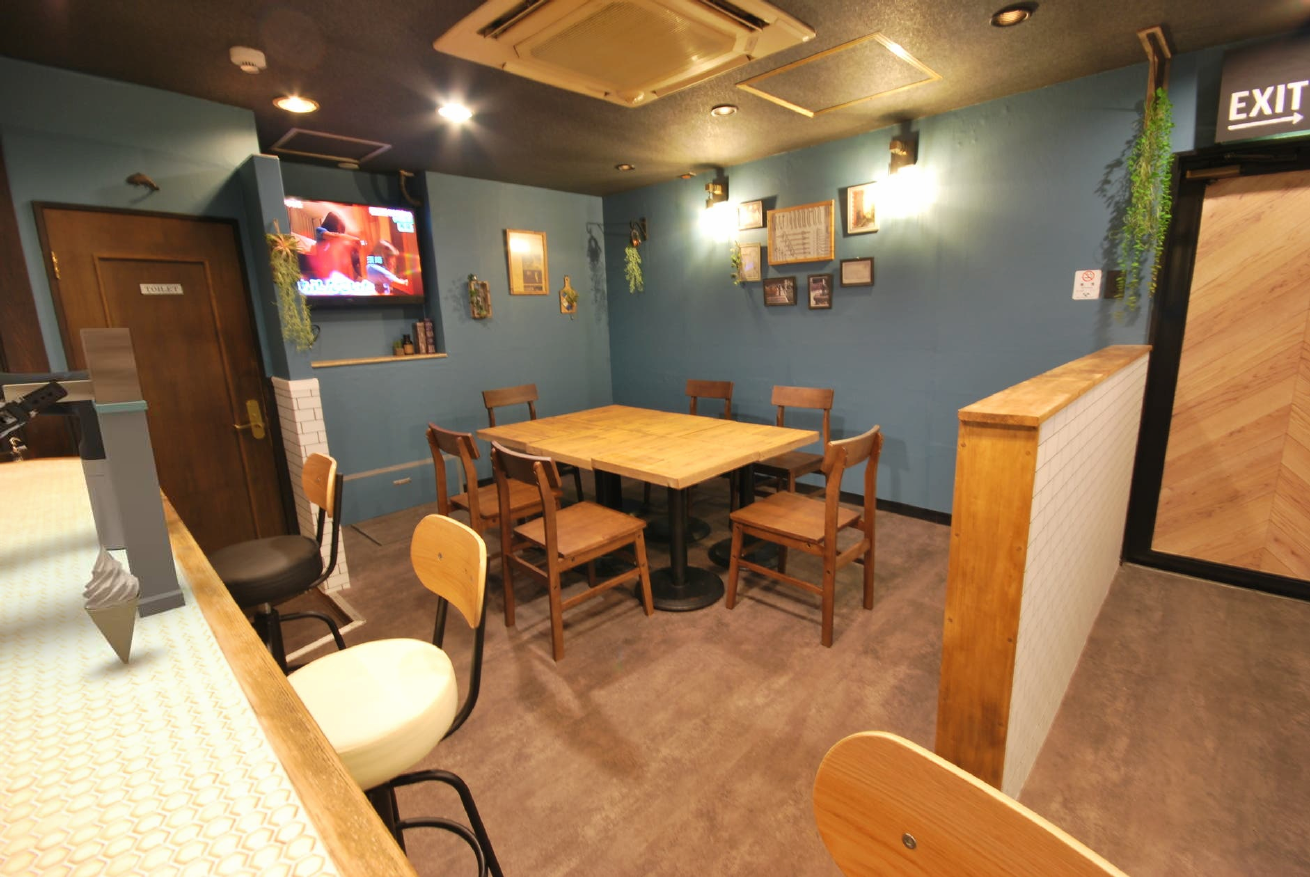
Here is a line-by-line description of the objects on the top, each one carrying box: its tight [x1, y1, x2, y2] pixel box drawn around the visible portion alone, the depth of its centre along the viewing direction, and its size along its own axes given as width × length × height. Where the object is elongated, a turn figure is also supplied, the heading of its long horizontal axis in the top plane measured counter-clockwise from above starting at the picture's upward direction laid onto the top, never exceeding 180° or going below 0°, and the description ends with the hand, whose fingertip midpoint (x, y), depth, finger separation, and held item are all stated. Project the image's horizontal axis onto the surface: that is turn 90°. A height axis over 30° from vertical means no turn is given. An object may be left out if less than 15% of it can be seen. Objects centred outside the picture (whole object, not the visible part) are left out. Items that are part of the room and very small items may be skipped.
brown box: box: [2, 327, 144, 405], centre depth 78 cm, size 10×13×10 cm
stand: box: [92, 399, 186, 619], centre depth 85 cm, size 14×5×30 cm, turn 46°
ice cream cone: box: [81, 545, 140, 664], centre depth 69 cm, size 5×5×15 cm
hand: (62, 385), depth 78 cm, fingers open, 8 cm apart
